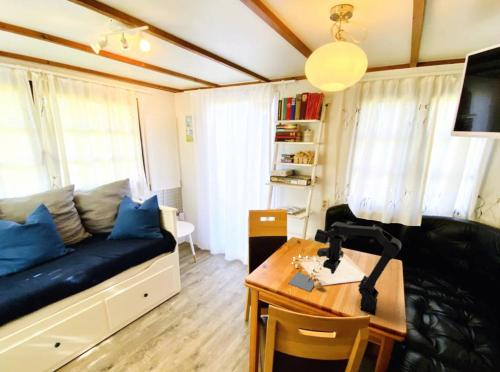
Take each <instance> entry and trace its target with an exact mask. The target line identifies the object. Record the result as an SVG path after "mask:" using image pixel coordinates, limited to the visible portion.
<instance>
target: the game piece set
mask: <svg viewBox="0 0 500 372" xmlns="http://www.w3.org/2000/svg"><path fill="white" fill-rule="evenodd" d="M299 258H300V259H302V256H301V254H299V255H298V259H299ZM305 258H306V259H310V258H309V255H306V256H305ZM292 259H293V260H292V262H291V264H292V265H295V269H297V268H298V266H299V264H298V263H297V264H295V261H296V259H297V258H296V257H295V256H293V258H292ZM293 261H294V262H293ZM313 261H315V262H317V258H316V257H315V256H313ZM317 265H318V267H317V269H318V270H320V269H322V267H320V266H322V264H321V260H320V259H318V262H317ZM302 270H303V272H306V270H305V269H303V268H302ZM315 270H316V268H315V267H311V271H312V272H315Z"/></svg>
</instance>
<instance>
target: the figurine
mask: <svg viewBox="0 0 500 372" xmlns="http://www.w3.org/2000/svg"><path fill="white" fill-rule="evenodd" d="M309 276H310V277H309V278H308V280H309V279H310V278H312V280H313V281H314V280H315V279H316V282H315V281H314V282H315V283H314V288H316V289H321V288H322V283H321V281H319V280H318V281H317V279H318V278H317V277H321V278H322V276H321V275H318V274H313V273H312V272H311V273H310V275H309Z"/></svg>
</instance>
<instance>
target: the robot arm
mask: <svg viewBox="0 0 500 372" xmlns="http://www.w3.org/2000/svg"><path fill="white" fill-rule="evenodd" d="M347 235H352V236H354V235H355V236H364V237H374V238H375V239H376V240H377V241H378V242H379V244H380V245H381V247H383V250H382V253H381V256H380V257H379V259H378V261H377V262H376V263H375V266H374V267H373V269H372V271H371V272H370V274H369V275H368V276H367V275H364V276H363V277H362V279H361V280H360V282H359V283H358V293H359V294H360V295H361V298H360V303H359V306H360V311H362V312H364V313H367V314H370V315H372V316H376V314H377V313H376V312H377V308H378V307H377V305H378V296H379V291H378V290H377V289H376V284H377V282H378V281H379V278H380V277H381V276H382V273H383V272H384V270H385V269H386V267H387V266H388V264H389V263H390V261H391V260H393V259H394V258H395V257H396V256H397V255H398V254H399V253H400V251H401V248H402V241H400V240H399V239H398V238H396V237H394V236H393V235H391V234H390V233H389V232H387V231H385V230H384V229H383V228H381V226H369V225H368V226H365V225H364V226H363V225H350V224H347V223H345V222H340V221H335V222H334V223H333V224H332V225H330V226H329V229H328V230H322V229H319V228H318V229H317V230H316V232H315V234H314V241H315V242H317V243H320V244H324V245H327V244H328V245H329V246H328V247H319V248H318V249H317V252H316V255H317V256H318V258H321V257H324V258H325V257H326V258H327V259H325V260H324V261H323V263H322V267H323V268H324V269H328V270H330V274H331V275H334V274H335V272H336V271H337V269H338V267H339V266H340V264H341V262H342V260H340V259H341V258H342V259H343V258H344V254H345V253H344V251H343V250H342V249H343V248H342V242H346V240H347V238H346V237H345V236H347Z"/></svg>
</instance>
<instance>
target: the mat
mask: <svg viewBox="0 0 500 372" xmlns="http://www.w3.org/2000/svg"><path fill="white" fill-rule="evenodd" d="M310 276H311V275H308V274H305V273H302V272H299V271H297V272H296V273H295V275H293V277H292V278H291V279H290V280H289V281H288V282H287V284H288V285H291V286H292V287H296V288H299V289H302V290H304V291H306V292H307V293H308V292H309V293H310V292H311V291H312V290H313V288H315V286H314V283H315V282H316V279H315V280H314V281H315V282H314V281H313V280H312V278H310V279H309V280H308V278H309V277H310ZM317 281H319V278H317Z"/></svg>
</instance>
